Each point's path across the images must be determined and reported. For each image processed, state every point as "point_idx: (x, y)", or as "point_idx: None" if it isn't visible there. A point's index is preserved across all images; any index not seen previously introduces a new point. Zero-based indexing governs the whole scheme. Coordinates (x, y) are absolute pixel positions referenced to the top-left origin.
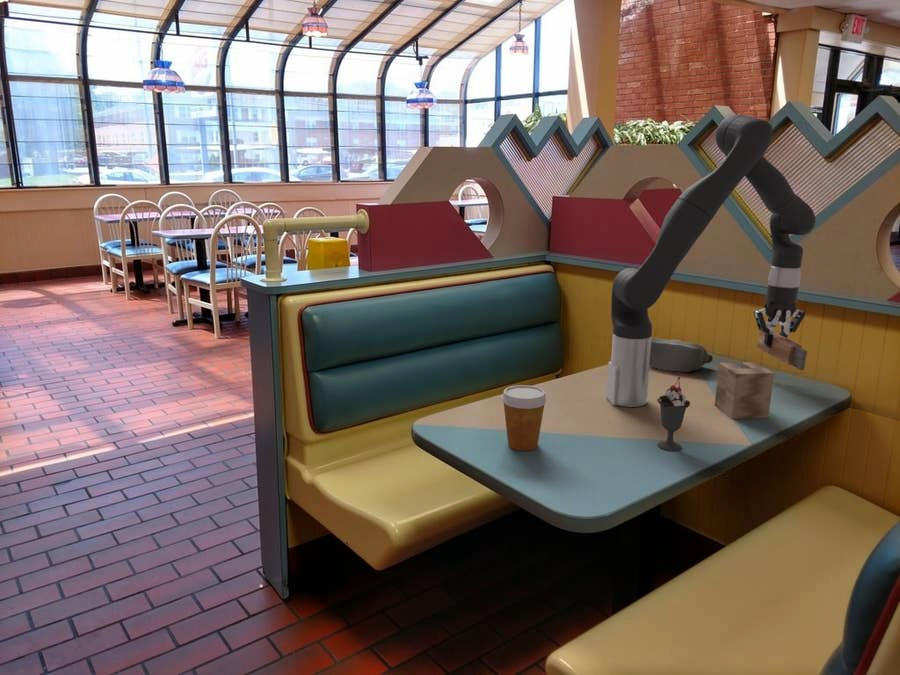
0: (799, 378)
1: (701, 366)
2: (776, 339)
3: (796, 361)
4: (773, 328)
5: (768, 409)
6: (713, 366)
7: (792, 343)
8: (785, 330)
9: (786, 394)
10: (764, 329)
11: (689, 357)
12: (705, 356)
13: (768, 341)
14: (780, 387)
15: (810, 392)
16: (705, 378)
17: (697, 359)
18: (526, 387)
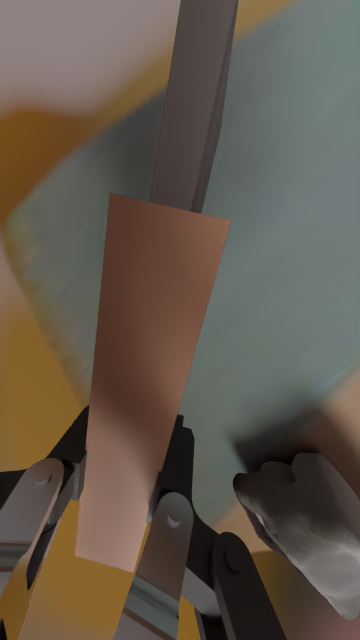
0: (77, 338)
1: (269, 464)
2: (172, 429)
3: (207, 177)
4: (152, 560)
5: None
6: (215, 463)
7: (141, 299)
8: (47, 500)
9: None
10: (239, 571)
11: (343, 498)
12: (276, 491)
13: (183, 449)
14: None
15: None
16: (308, 413)
17: (328, 482)
18: None
